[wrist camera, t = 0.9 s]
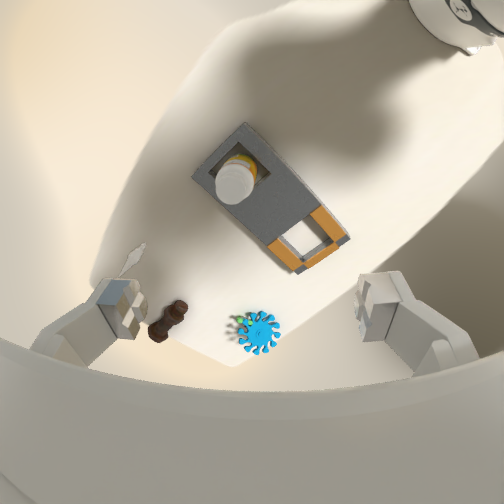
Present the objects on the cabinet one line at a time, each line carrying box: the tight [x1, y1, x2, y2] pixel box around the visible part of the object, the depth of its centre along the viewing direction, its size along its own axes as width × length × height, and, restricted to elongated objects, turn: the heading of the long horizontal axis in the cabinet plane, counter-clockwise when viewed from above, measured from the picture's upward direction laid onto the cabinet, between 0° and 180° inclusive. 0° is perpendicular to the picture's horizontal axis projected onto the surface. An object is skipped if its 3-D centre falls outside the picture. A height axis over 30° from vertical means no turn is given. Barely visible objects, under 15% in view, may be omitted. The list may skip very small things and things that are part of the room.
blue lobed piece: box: [236, 311, 281, 355], centre depth 60 cm, size 11×6×10 cm
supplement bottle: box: [215, 154, 257, 205], centre depth 38 cm, size 5×5×10 cm
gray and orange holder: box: [191, 122, 350, 275], centre depth 44 cm, size 12×26×2 cm, turn 45°
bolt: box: [148, 300, 188, 343], centre depth 62 cm, size 6×5×15 cm
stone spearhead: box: [118, 243, 146, 278], centre depth 55 cm, size 15×3×2 cm, turn 135°
